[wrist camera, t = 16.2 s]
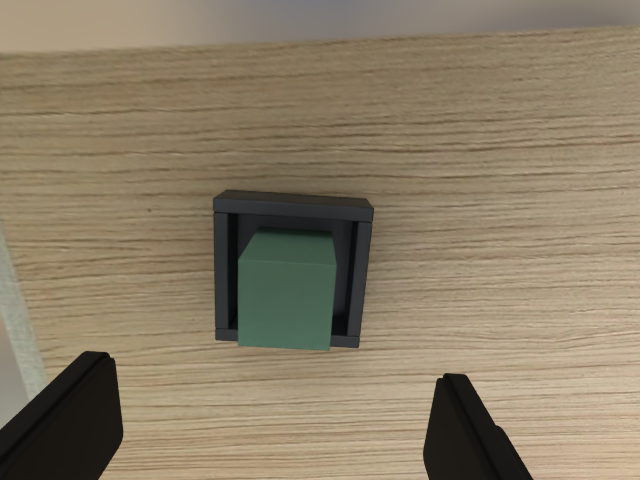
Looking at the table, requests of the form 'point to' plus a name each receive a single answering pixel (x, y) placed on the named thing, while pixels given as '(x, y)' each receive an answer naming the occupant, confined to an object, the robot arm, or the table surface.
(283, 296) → the pad block
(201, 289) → the table surface
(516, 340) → the table surface
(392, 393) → the table surface
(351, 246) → the socket
